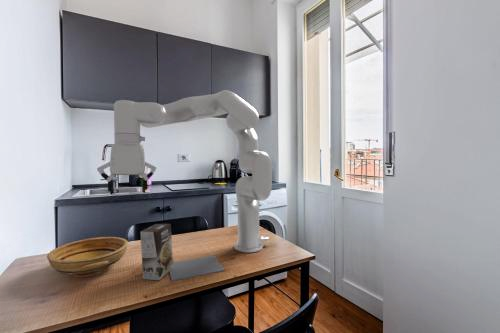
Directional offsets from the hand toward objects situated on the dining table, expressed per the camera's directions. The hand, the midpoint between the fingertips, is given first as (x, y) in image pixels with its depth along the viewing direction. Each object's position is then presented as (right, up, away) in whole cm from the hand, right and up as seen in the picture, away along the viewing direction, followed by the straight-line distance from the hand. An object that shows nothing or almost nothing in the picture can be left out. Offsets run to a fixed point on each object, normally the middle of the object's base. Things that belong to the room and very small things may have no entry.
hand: (128, 192), depth 81 cm
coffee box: (+9, -28, +4) cm, 30 cm away
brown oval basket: (-17, -29, +8) cm, 34 cm away
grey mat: (+20, -28, +9) cm, 36 cm away
